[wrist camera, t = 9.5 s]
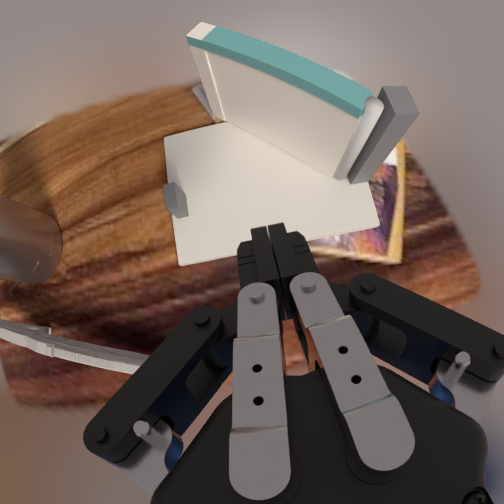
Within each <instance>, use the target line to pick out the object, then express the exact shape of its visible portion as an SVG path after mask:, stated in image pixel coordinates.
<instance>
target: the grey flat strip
mask: <svg viewBox="0 0 504 504" xmlns="http://www.w3.org/2000/svg"><path fill="white" fill-rule="evenodd" d="M0 338H2V339H4V340H7V341H10V342H12V343H15V344H17V345H20V346H23V347H28V348H30V349H31V350H33V351H35V352H37V353H41V354H44V355H47V356H51V357H54V356H55V357H59V358H62V359H66V360H70V361H74V362H78V363H82V364H86V365H91V366H95V367H100V368H104V369H109V370H114V371H119V372H124V373H129V374H134V373H135V371H136V370H137V369H138V368H139V367H140V366H141V365H142V364H143V363H144V362H145V360H146V359H147V358H148V357H149V356H150V355H145V354H140V353H137V352H131V351H125V350H120V349H114V348H109V347H104V346H99V345H94V344H90V343H85V342H80V341H76V340H71V339H68V338H63V337H58V336H54V335H51V327H42V326H36V325H30V324H24V323H19V322H13V321H7V320H2V319H0Z"/></svg>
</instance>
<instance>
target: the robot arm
mask: <svg viewBox="0 0 504 504" xmlns="http://www.w3.org/2000/svg"><path fill="white" fill-rule="evenodd" d="M267 227H268V231H267ZM267 227H266V226H262V227H257V228H252V229H250V231H251V237H252V240H249V241H244V242H240V244H239V246H238V248H237V258H238V268H239V278H240V288H241V291H240V293H239V295H238V299H237V300H236V301H235V302H234V303H233V304H232V305H230V306H228V307H226V308H224V309H222V310H220V311H218V310H217V309H216V308H214V307H211V306H201V307H198V308H195V309H194V310H192V311H191V312H189V313H188V314H187V316H186V317H185V318H184V319H183V320H182V321H181V322H180V323H179V324H178V325H177V326H176V328H175V329H174V330H173V331H172V332H171V333H170V334H169V335H168V336H167V337H166V339H165V340H164V341H163V342H162V343H161V344H160V345H159V346H158V347H157V348H156V349H155V351H154V352H153V353H152V354H151V355H150V356H149V357H148V358H147V359H146V360H145V362H144V363H143V364H142V365H141V366H140V367H139V368H138V369H137V370H136V371H135V373H134V374H133V375H132V376H131V377H130V378H129V379H128V380H127V381H126V382H125V384H124V385H123V386H122V387H121V388H120V389H119V390H118V391H117V392H116V393H115V395H114V396H113V397H112V398H111V399H110V400H109V401H108V402H107V403H106V404H105V406H104V407H103V408H102V409H101V410H100V411H99V412H98V413H97V414H96V416H95V417H94V418H93V419H92V420H91V421H90V422H89V423H88V425H87V426H86V428H85V430H84V436H83V440H84V444H85V446H86V447H87V449H88V450H89V451H90V452H92V453H94V454H95V455H97V456H99V457H101V458H102V459H103V460H104V461H106V462H108V463H109V464H111V465H113V466H115V467H117V468H118V469H119V470H120V471H121V472H123V473H124V474H125V475H126V476H127V477H128V478H129V479H130V480H131V481H132V482H134V483H135V484H136V485H137V486H138V487H139V488H140V489H142V490H143V491H144V492H145V493H146V494H148V495H149V496H150V497H151V498H152V499H151V503H150V504H494V503H493V502H492V500H491V498H490V496H489V494H488V492H487V488H486V479H485V475H486V472H485V471H486V461H487V454H488V443H487V438H486V435H485V432H484V430H483V429H482V427H481V426H480V422H481V419H482V417H483V415H484V413H485V410H486V408H487V405H488V403H489V401H490V398H491V396H492V393H493V390H494V388H495V385H496V383H497V382H498V381H499V380H500V378H501V377H502V376H503V375H504V335H502V334H500V333H498V332H496V331H494V330H492V329H490V328H488V327H486V326H484V325H482V324H480V323H478V322H475V321H474V320H472V319H470V318H467V317H465V316H463V315H461V314H459V313H457V312H455V311H453V310H451V309H449V308H446V307H444V306H442V305H440V304H438V303H436V302H434V301H431V300H429V299H427V298H425V297H423V296H421V295H418V294H416V293H414V292H412V291H410V290H408V289H405V288H403V287H401V286H399V285H397V284H394V283H392V282H390V281H388V280H386V279H383V278H381V277H379V276H376V275H373V274H361V275H358V276H356V277H354V278H353V279H352V280H351V282H350V284H335V283H331V282H329V281H327V280H326V279H325V278H324V277H323V276H322V275H320V273H319V271H318V268H317V266H316V263H315V261H314V258H313V256H312V254H311V251H310V249H309V246H308V244H307V241H306V239H305V237H304V236H303V235H302V234H301V233H299V232H298V231H294V232H289V233H287V231H286V228H285V225H284V223H283V222H282V223H277V224H271V225H267ZM268 233H269V235H268ZM61 251H62V236H61V231H60V228H59V226H58V224H57V222H56V221H55V220H54V219H53V218H52V217H51V216H49V215H47V214H44V213H42V212H39V211H37V210H34V209H32V208H30V207H27V206H25V205H22V204H20V203H18V202H15V201H13V200H10V199H8V198H5V197H3V196H1V195H0V280H8V281H16V282H26V283H42V282H44V281H46V280H47V279H48V278H49V277H50V276H51V275H52V274H53V273H54V271H55V270H56V267H57V265H58V263H59V260H60V257H61ZM283 303H284V304H283ZM284 307H285V311H286V315H287V320H288V319H293V321H294V325H295V333H296V337H297V339H298V342H299V345H300V348H301V351H302V354H303V357H304V360H305V362H306V365H307V368H308V372H309V373H307V374H305V375H302V376H287V369H286V360H285V350H284V341H283V324H282V321H284V320H286V318H285V311H284ZM371 354H372V355H374V356H376V357H378V358H379V359H381V360H383V361H385V362H386V363H389V364H390V365H392V366H394V367H396V368H398V369H399V370H401V371H403V372H405V373H407V374H408V375H410V376H412V377H414V378H416V379H418V380H419V381H421V382H423V383H425V384H427V385H428V387H429V392H430V393H428V392H427V391H425V390H423V389H422V388H420V387H418V386H416V385H415V384H413V383H411V382H410V381H408V380H406V379H405V378H403V377H401V376H400V375H398V374H396V373H395V372H393V371H391V370H390V369H387V368H385V367H383V366H379V365H376V363H375V361H374V359H373V357H372V355H371ZM232 371H233V393H232V394H231V395H229V396H228V397H227V398H225V399H224V400H223V401H222V402H221V403H220V404H219V405H218V406H217V408H216V409H215V410H214V412H213V413H212V414H211V416H210V417H209V419H208V420H207V421H206V423H205V424H204V426H203V427H202V429H201V430H200V431H199V433H198V434H197V435H196V437H195V438H194V440H193V441H192V442H191V443H190V445H189V446H188V448H187V449H186V450H185V452H184V453H183V454H182V452H183V448H184V447H183V445H184V444H183V441H182V438H181V436H182V435H183V434H184V432H185V431H186V430H187V429H188V427H189V426H190V425H191V424H192V422H193V421H194V420H195V419H196V417H197V416H198V415H199V414H200V412H201V411H202V410H203V408H204V407H205V406H206V405H207V403H208V402H209V401H210V399H211V398H212V397H213V396H214V394H215V393H216V392H217V390H218V389H219V388H220V387H221V385H222V384H223V383H224V381H225V380H226V379H227V377H228V376H229V375H230V373H231V372H232ZM181 454H182V455H181ZM180 456H181V457H180Z"/></svg>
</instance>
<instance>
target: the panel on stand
mask: <svg viewBox="0 0 504 504" xmlns="http://www.w3.org/2000/svg"><path fill="white" fill-rule="evenodd" d="M377 98H378V99H379V100H381V101H382V103H383V105H384V109H383V111H382V113H381V115H380V117H379V119H378V120H377V122H376V124H375V126H374V128H373V130H372V131H371V133H370V135H369V137H368V139H367V140H366V142H365V144H364V146H363V148H362V149H361V151H360V153H359V155H358V157H357V158H356V160H355V162H354V164H353V165H352V167H351V169H350V171H349V172H348V174H347V176H346V178H345V179H344V180H342V181H338V180H336V179H335V178H334V177H332V178H331V177H329V176H328V175H326V174H324V173H323V172H321V171H319V170H318V169H316V168H314V167H312V166H311V165H309V164H307V163H306V162H304V161H302V160H300V159H299V158H297V157H295V156H293V155H291V154H290V153H288V152H286V151H284V150H282V149H281V148H279V147H277V146H275V145H273V144H271V143H269V142H268V141H266V140H264V139H262V138H260V137H258V136H256V135H254V134H252V133H250V132H248V131H246V130H244V129H242V128H240V127H238V126H236V125H234V124H232V123H230V122H224V123H219V124H215V125H210V126H206V127H202V128H198V129H194V130H190V131H186V132H182V133H178V134H174V135H171V136H167V137H164V146H165V157H166V168H167V177H168V184H165V185H163V191H164V200H165V209H167V210H168V211H169V212H170V213H171V214H172V219H173V227H174V234H175V241H176V248H177V255H178V262H179V265H180V266H185V265H190V264H195V263H200V262H205V261H210V260H215V259H220V258H225V257H230V256H235V255H237V248H238V246H239V244H240V242H244V241H249V240H252V237H251V231H250V229H252V228H257V227H262V226H266V227H267V225H271V224H277V223H282V222H283V223H284V225H285V228H286V231H287V233H289V232H294V231H298V232H299V233H301V234H302V235H303V236H304V237H305V239H306V241H310V240H315V239H320V238H325V237H330V236H335V235H340V234H345V233H350V232H355V231H360V230H365V229H370V228H375V227H378V226H379V225H380V224H379V220H378V216H377V212H376V209H375V205H374V202H373V198H372V195H371V191H370V188H369V184H368V181H369V180H370V179H371V177H372V176H373V175H374V173H375V172H376V171H377V169H378V168H379V167H380V166H381V164H382V163H383V162H384V160H385V159H386V158H387V156H388V155H389V154H390V152H391V151H392V150H393V149H394V147H395V146H396V145H397V143H398V142H399V141H400V139H401V138H402V136H403V135H404V134H405V132H406V131H407V130H408V128H409V127H410V126H411V124H412V123H413V121H414V120H415V119H416V118H417V116H418V115H419V111H418V109H417V107H416V104H415V102H414V100H413V98H412V96H411V94H410V92H409V90H408V88H407V86H383V87H382V89H381V91H380V93H379V95H378V97H377ZM267 231H268V227H267ZM268 235H269V233H268Z"/></svg>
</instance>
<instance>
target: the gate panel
mask: <svg viewBox="0 0 504 504" xmlns="http://www.w3.org/2000/svg"><path fill="white" fill-rule="evenodd" d="M186 38H187V41H188V44H189V47H190V50H191V52H192V55H193V58H194V61H195V64H196V67H197V70H198V73H199V76H200V79H201V81H202V84H203V87H204V90H205V93H206V96H207V99H208V102H209V105H210V108H211V111H212V114H213V116H214V117H216V118H219V119H221V120H223V121H225V120H226V121H228V122H230V123H232V124H234V125H236V126H238V127H240V128H242V129H244V130H246V131H248V132H250V133H252V134H254V135H256V136H258V137H260V138H262V139H264V140H266V141H268V142H269V143H271V144H273V145H275V146H277V147H279V148H281V149H282V150H284V151H286V152H288V153H290V154H291V155H293V156H295V157H297V158H299V159H300V160H302V161H304V162H306V163H307V164H309V165H311V166H312V167H314V168H316V169H318V170H319V171H321V172H323V173H324V174H326V175H328V176H329V177H331V178H332V177H334V178H335V179H336V180H338V181H342V180H344V179H345V178H346V176H347V174H348V172H349V171H350V169H351V167H352V165H353V164H354V162H355V160H356V158H357V157H358V155H359V153H360V151H361V149H362V148H363V146H364V144H365V142H366V140H367V139H368V137H369V135H370V133H371V131H372V130H373V128H374V126H375V124H376V122H377V120H378V119H379V117H380V115H381V113H382V111H383V109H384V105H383V103H382V101H381V100H379V99H378V98H376V97H371V96H372V94H373V92H372V91H370V90H368V89H366V88H365V87H363V86H361V85H359V84H357V83H355V82H354V81H352V80H350V79H348V78H346V77H344V76H342V75H340V74H338V73H336V72H334V71H332V70H330V69H328V68H326V67H324V66H321V65H319V64H317V63H315V62H313V61H310V60H308V59H306V58H303V57H301V56H299V55H297V54H294V53H292V52H289V51H287V50H284V49H282V48H279V47H277V46H274V45H271V44H269V43H266V42H263V41H260V40H258V39H255V38H252V37H249V36H246V35H243V34H240V33H237V32H233V31H231V30H227V29H224V28H220V27H217V26H213V25H210V24H206V23H202V22H201V23H199V24H198V25H197V26H196V27H195V28H194V29H193V30H192V31H190V33H188V34H187V35H186Z"/></svg>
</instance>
